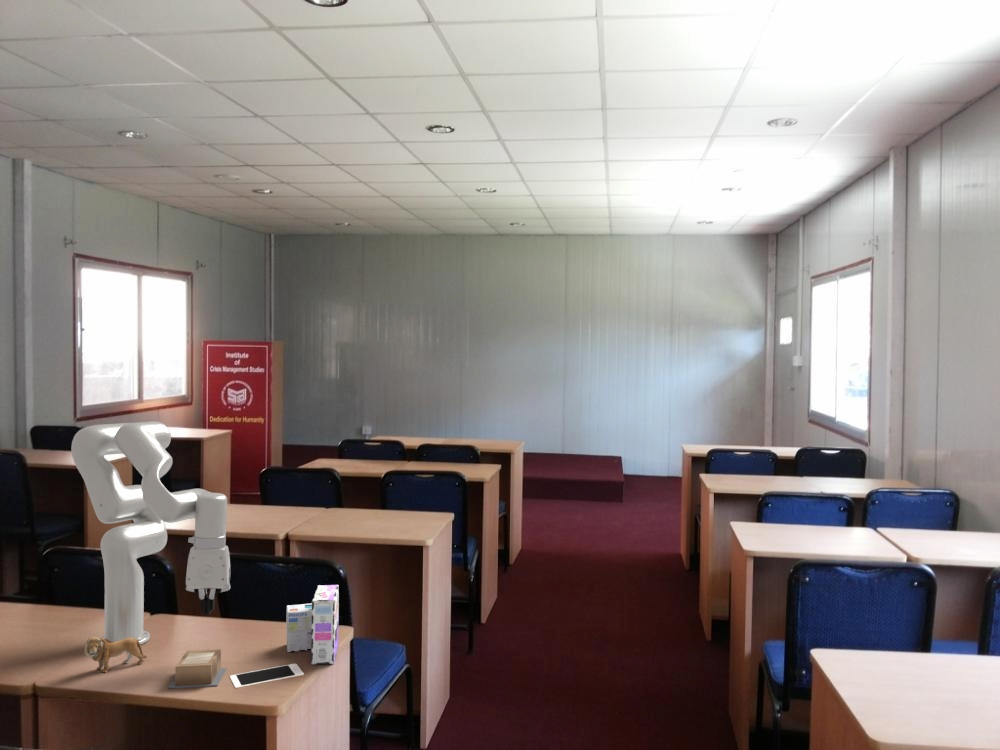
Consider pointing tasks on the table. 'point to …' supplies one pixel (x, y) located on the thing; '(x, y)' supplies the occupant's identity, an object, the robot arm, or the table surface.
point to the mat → (214, 683)
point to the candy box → (325, 624)
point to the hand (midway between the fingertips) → (207, 613)
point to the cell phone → (266, 675)
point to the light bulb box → (299, 627)
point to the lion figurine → (112, 650)
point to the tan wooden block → (198, 667)
